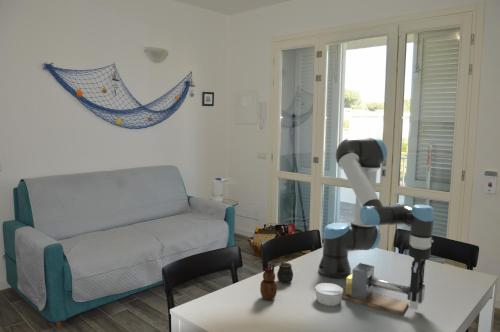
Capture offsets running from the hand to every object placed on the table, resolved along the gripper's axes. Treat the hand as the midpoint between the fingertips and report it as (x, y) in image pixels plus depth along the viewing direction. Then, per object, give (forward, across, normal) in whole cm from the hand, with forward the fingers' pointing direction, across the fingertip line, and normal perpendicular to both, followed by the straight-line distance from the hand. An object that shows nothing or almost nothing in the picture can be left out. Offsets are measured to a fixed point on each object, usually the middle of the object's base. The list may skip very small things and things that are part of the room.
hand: (415, 305), depth 149 cm
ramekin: (+3, -10, +31) cm, 33 cm away
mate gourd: (+4, -4, +54) cm, 55 cm away
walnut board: (+3, 0, +16) cm, 17 cm away
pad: (+2, 0, +26) cm, 26 cm away
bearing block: (+2, 0, +20) cm, 21 cm away
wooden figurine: (+4, -23, +51) cm, 56 cm away
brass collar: (-2, 0, +25) cm, 25 cm away
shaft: (-3, 0, +10) cm, 10 cm away
